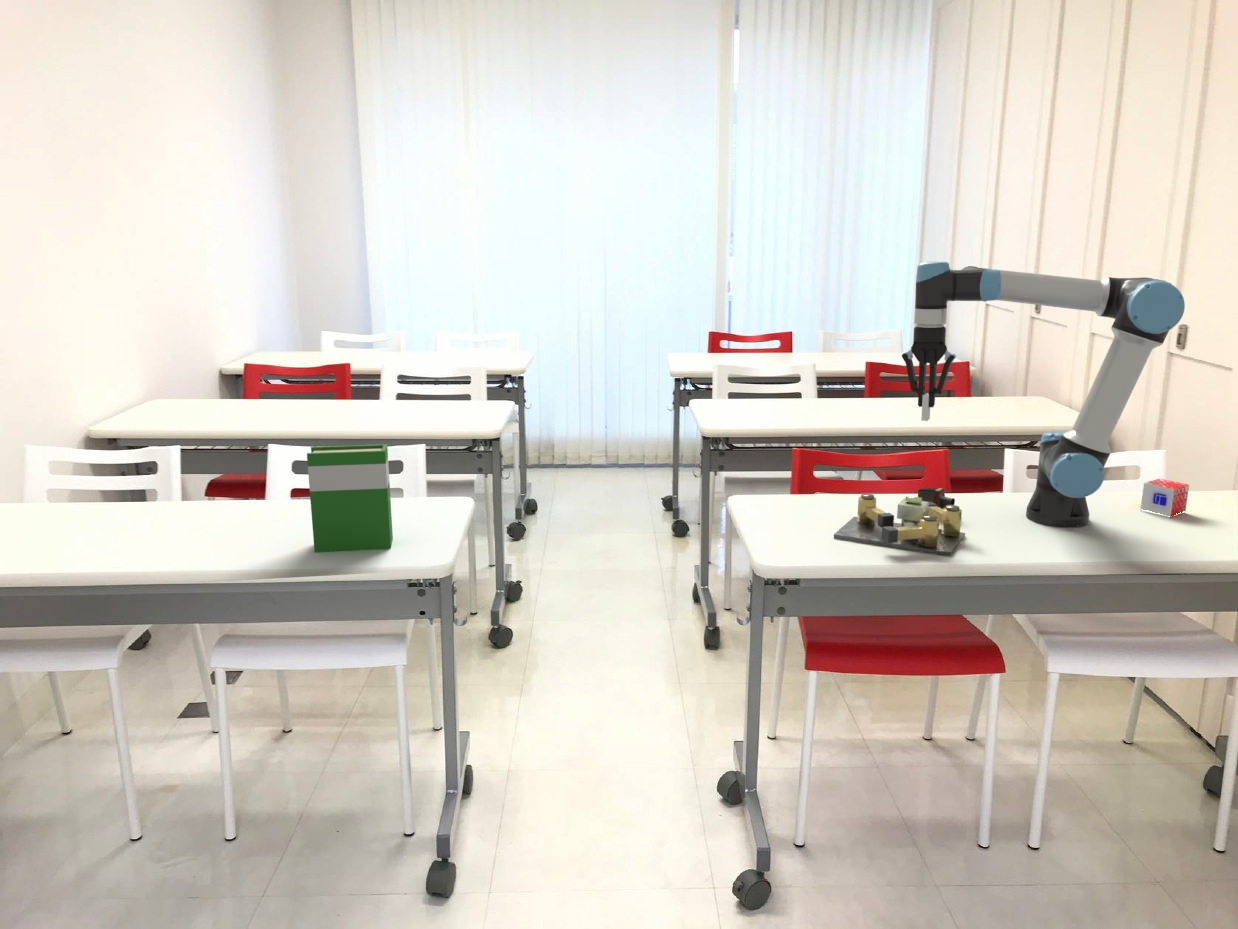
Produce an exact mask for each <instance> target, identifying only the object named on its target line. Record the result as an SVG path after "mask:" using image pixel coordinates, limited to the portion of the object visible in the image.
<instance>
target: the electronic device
mask: <svg viewBox="0 0 1238 929" xmlns="http://www.w3.org/2000/svg"><path fill="white" fill-rule="evenodd" d="M917 497H919V498H922V501H926V502H933V503H935V504H937V507H939V508H941V509H943V508H946V505H955V503H956V499H955V498H954V497H948V496H946V495H945V489H944V488H943V487H940V488H939V487H921V488H919V489H918V490H917Z"/></svg>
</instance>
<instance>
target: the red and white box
mask: <svg viewBox="0 0 1238 929" xmlns="http://www.w3.org/2000/svg"><path fill="white" fill-rule="evenodd" d="M1189 489H1190V484H1187V483H1183V482H1178V481H1174V480H1173V481H1172V480H1168V479H1164V478H1157V479H1153V480H1149V481H1146V482H1144V483H1143V489H1142V496H1141V505H1140V510H1141V509H1143V510H1149V511H1152V512H1155V513H1160V514H1163V515H1166V516H1170V517H1171V516H1174V515H1176V513H1177V514H1178V513H1180V512H1181V513H1182V512H1183V511H1185V512H1186V510H1187V503H1188V496H1189ZM1174 517H1175V516H1174ZM1171 518H1172V517H1171Z"/></svg>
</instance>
